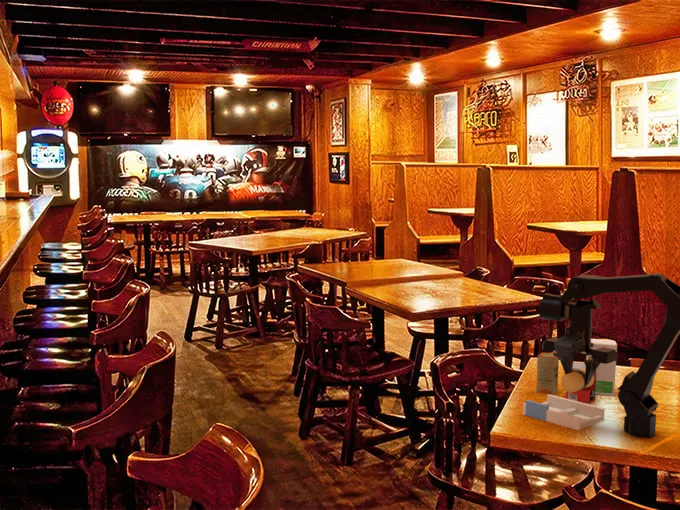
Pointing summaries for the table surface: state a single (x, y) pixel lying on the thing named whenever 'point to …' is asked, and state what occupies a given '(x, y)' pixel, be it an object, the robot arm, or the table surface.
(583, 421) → the white storage bin
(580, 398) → the canned food
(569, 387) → the banded tan cylinder
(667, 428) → the table surface
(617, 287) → the robot arm
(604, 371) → the skincare box
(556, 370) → the shoe polish box
